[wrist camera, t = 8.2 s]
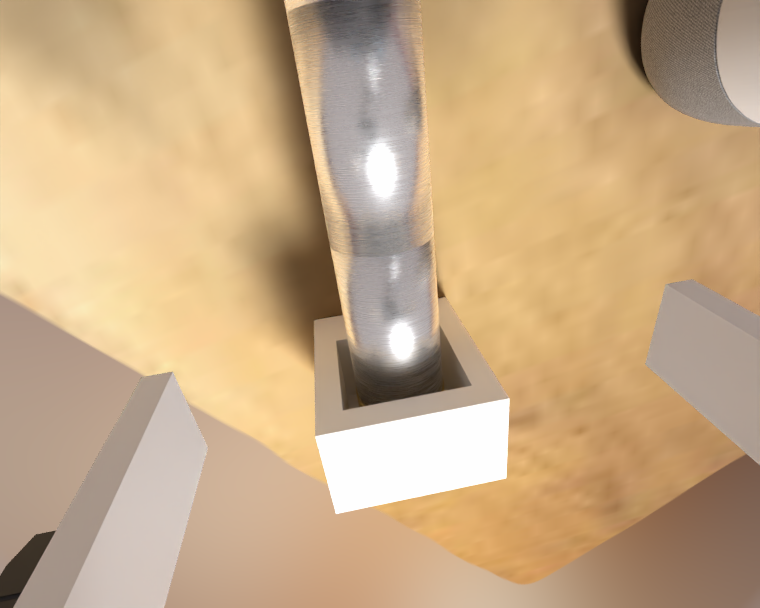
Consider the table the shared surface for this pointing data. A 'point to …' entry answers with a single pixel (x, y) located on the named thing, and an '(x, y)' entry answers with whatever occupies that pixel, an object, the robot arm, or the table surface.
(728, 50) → the smart speaker
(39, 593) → the robot arm
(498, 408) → the socket block
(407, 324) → the tube
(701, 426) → the table surface
